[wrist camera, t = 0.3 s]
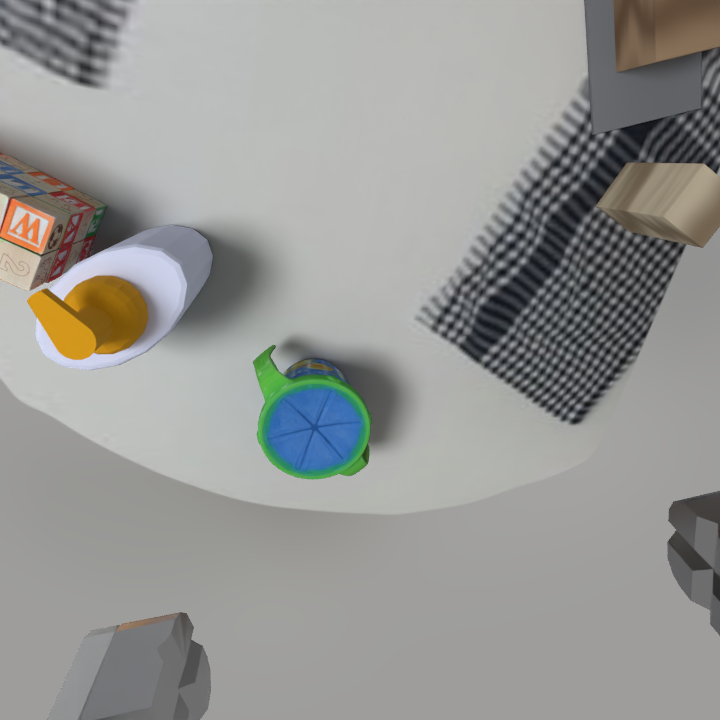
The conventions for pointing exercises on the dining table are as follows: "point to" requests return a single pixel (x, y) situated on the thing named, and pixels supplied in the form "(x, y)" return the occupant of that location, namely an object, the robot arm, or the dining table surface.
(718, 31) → the walnut block
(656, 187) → the oak column
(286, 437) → the snack cup
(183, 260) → the soap bottle
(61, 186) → the stack of blocks
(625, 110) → the mat
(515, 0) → the dining table surface
